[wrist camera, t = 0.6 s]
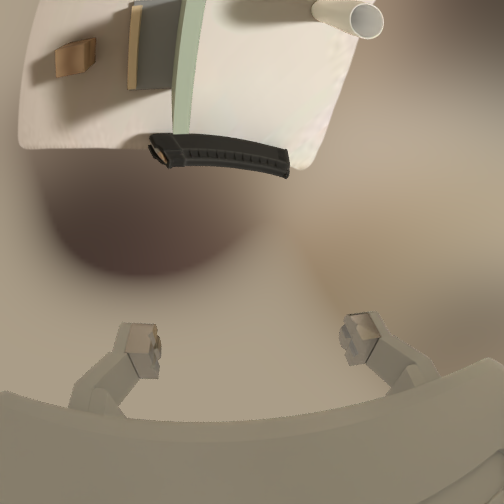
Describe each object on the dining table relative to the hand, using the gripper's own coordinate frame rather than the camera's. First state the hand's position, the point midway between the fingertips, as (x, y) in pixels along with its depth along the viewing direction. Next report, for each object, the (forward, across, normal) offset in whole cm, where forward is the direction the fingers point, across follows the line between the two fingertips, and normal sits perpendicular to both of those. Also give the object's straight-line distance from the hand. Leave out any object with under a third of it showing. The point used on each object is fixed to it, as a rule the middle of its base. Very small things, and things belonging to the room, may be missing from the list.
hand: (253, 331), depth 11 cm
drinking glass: (+46, -17, -28) cm, 57 cm away
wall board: (+44, +13, -19) cm, 50 cm away
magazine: (+54, +1, +2) cm, 54 cm away
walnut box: (+41, +26, -20) cm, 53 cm away
